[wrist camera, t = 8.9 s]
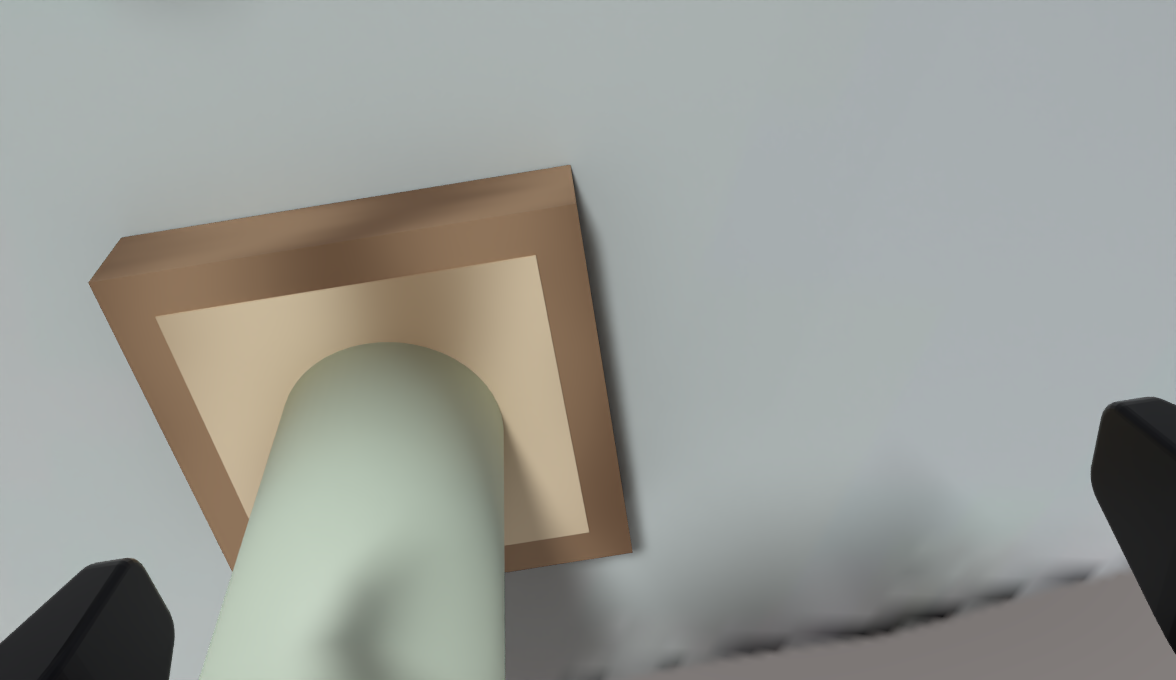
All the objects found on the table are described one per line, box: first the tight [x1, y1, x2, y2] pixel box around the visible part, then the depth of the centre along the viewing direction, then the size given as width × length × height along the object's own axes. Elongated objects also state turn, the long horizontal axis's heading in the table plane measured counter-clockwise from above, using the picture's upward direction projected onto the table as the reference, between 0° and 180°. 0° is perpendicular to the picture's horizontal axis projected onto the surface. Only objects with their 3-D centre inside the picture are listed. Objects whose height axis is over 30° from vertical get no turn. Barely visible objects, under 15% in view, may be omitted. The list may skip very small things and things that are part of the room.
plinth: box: [89, 165, 633, 572], centre depth 23 cm, size 10×10×2 cm
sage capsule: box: [199, 342, 505, 680], centre depth 19 cm, size 5×5×8 cm
